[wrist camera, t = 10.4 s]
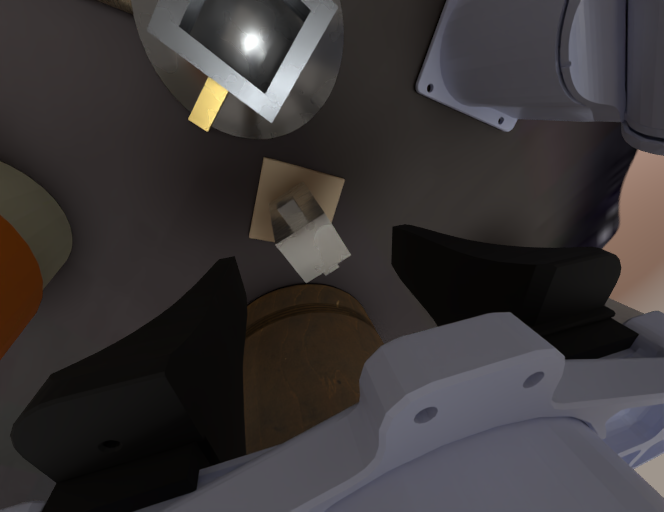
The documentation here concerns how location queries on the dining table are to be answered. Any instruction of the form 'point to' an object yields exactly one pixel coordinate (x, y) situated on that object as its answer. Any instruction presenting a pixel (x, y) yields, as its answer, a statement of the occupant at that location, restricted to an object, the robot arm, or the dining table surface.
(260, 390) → the wooden container
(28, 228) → the reusable coffee cup
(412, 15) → the dining table surface
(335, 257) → the grey block
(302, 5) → the open square box
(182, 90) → the grey frying pan
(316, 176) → the coaster
